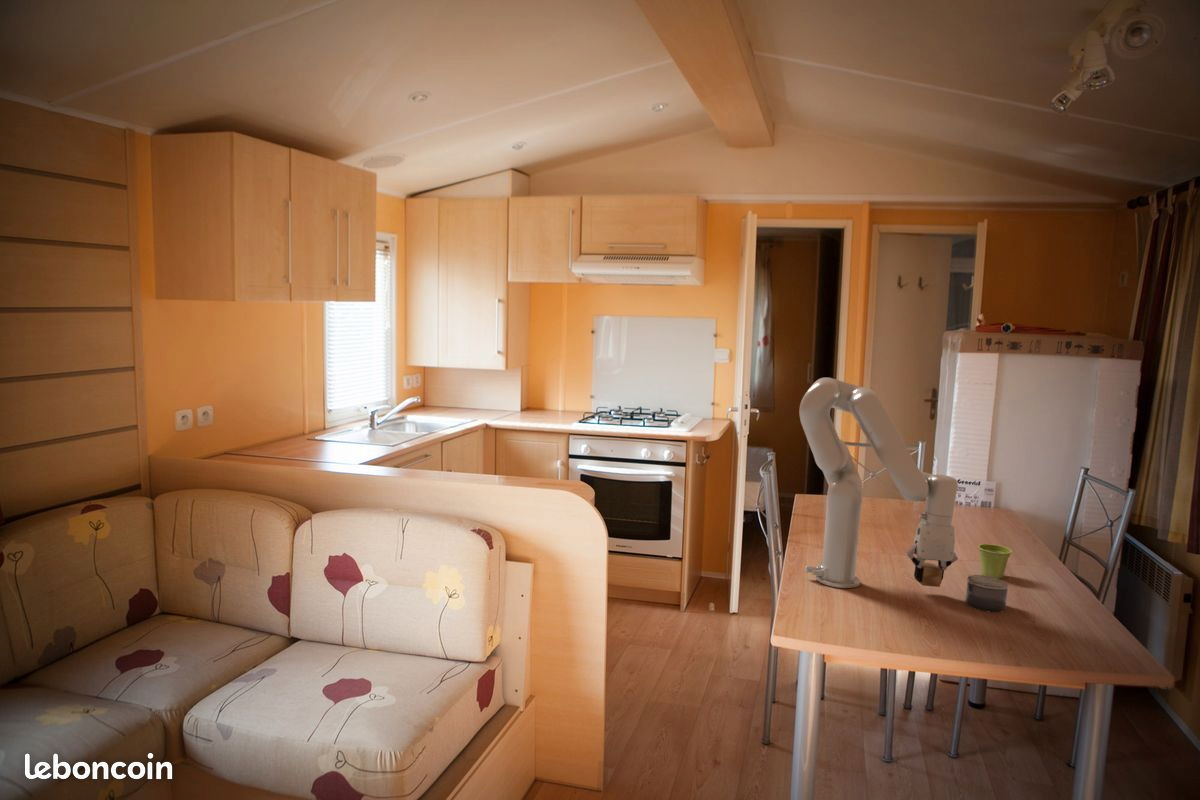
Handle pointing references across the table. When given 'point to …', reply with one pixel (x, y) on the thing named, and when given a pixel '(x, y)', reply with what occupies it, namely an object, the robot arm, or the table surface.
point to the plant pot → (993, 559)
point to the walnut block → (931, 575)
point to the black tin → (986, 593)
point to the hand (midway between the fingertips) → (927, 580)
